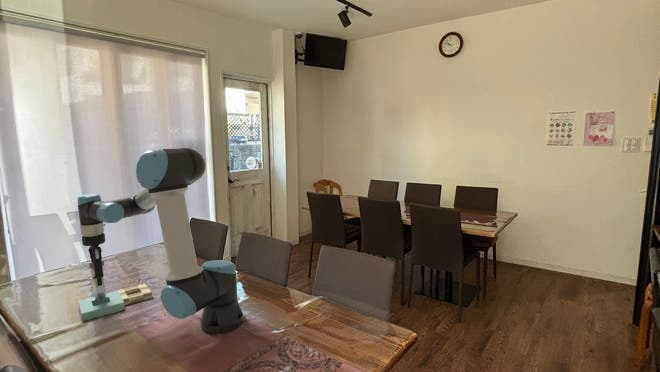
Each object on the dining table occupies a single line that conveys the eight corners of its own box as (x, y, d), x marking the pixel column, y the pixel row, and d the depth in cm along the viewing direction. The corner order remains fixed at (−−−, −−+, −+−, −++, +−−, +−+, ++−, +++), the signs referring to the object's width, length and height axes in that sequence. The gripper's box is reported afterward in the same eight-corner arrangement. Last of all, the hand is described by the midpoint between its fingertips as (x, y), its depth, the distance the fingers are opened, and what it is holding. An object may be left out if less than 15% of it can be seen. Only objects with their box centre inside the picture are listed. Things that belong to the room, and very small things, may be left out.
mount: (152, 297, 153) (151, 292, 153) (120, 306, 146) (119, 300, 145) (145, 288, 162) (145, 283, 162) (115, 296, 155) (114, 290, 155)
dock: (124, 309, 143) (124, 302, 143) (82, 321, 135) (81, 313, 134) (118, 297, 154) (118, 290, 154) (79, 307, 145) (78, 300, 145)
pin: (108, 299, 143) (104, 263, 141) (94, 303, 140) (89, 266, 138) (107, 295, 147) (103, 259, 145) (92, 298, 144) (88, 262, 142)
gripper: (107, 236, 136) (113, 295, 139) (101, 227, 149) (107, 281, 152) (83, 240, 131) (90, 301, 134) (79, 231, 144) (86, 286, 148)
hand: (99, 290), depth 143 cm, fingers closed on pin, 4 cm apart
